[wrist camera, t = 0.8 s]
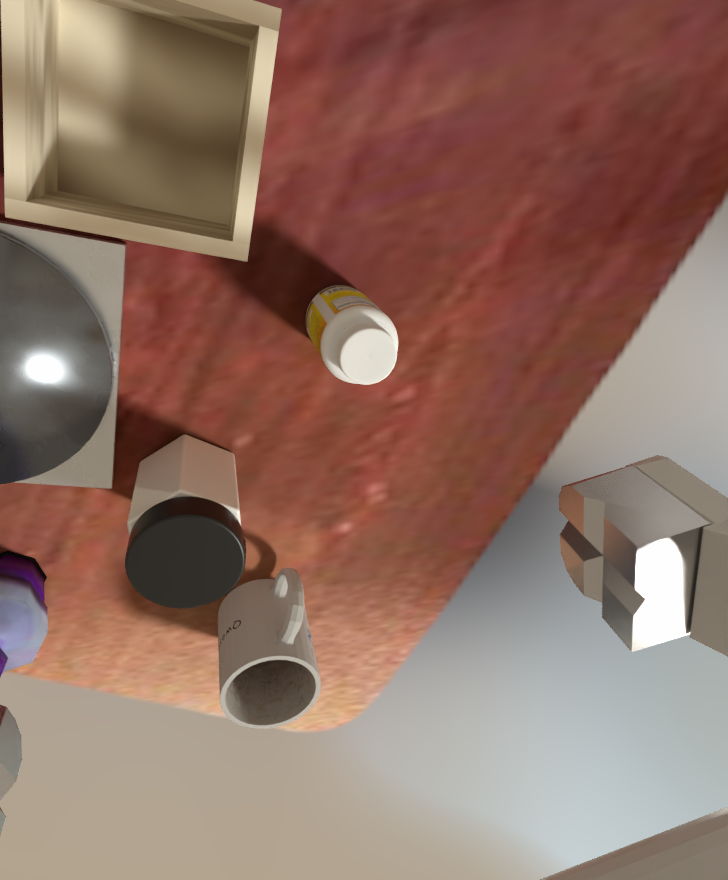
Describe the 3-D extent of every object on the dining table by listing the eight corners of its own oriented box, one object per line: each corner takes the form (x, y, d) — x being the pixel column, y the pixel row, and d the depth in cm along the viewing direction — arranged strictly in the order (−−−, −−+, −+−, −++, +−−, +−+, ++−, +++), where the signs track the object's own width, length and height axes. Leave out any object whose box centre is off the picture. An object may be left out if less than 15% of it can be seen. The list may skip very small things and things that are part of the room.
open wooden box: (44, -31, 35) (-2, -80, 27) (266, 35, 39) (281, 9, 31) (44, 202, 40) (5, 217, 32) (239, 240, 44) (247, 261, 36)
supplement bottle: (334, 364, 50) (362, 412, 41) (290, 315, 47) (309, 355, 38) (385, 319, 49) (424, 359, 40) (342, 267, 47) (375, 297, 38)
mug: (276, 654, 63) (287, 737, 54) (201, 631, 59) (201, 715, 50) (340, 568, 60) (363, 641, 51) (265, 538, 56) (276, 611, 47)
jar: (176, 536, 54) (170, 631, 43) (116, 473, 50) (92, 561, 39) (260, 485, 53) (273, 568, 43) (205, 417, 49) (206, 491, 39)
